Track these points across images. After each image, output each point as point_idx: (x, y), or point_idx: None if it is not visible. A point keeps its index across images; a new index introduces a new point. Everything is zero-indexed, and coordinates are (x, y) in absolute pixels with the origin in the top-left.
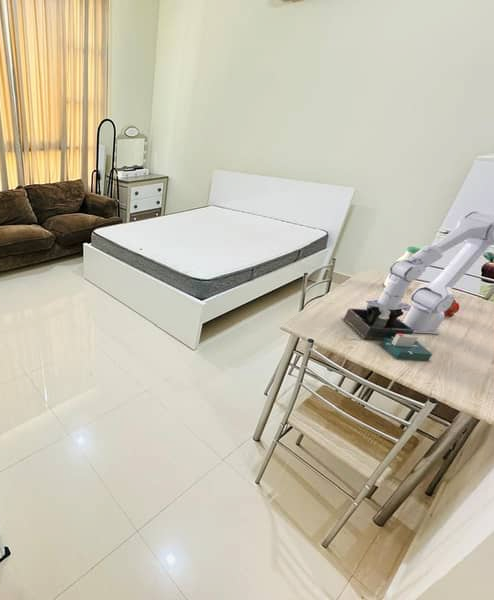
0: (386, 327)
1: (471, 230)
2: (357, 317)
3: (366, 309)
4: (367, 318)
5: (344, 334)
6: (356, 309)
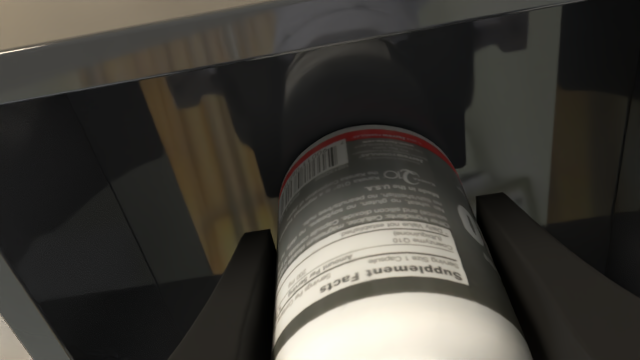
0: (576, 114)
1: None
2: (38, 345)
3: (290, 8)
4: (224, 282)
5: (7, 337)
6: (26, 88)
